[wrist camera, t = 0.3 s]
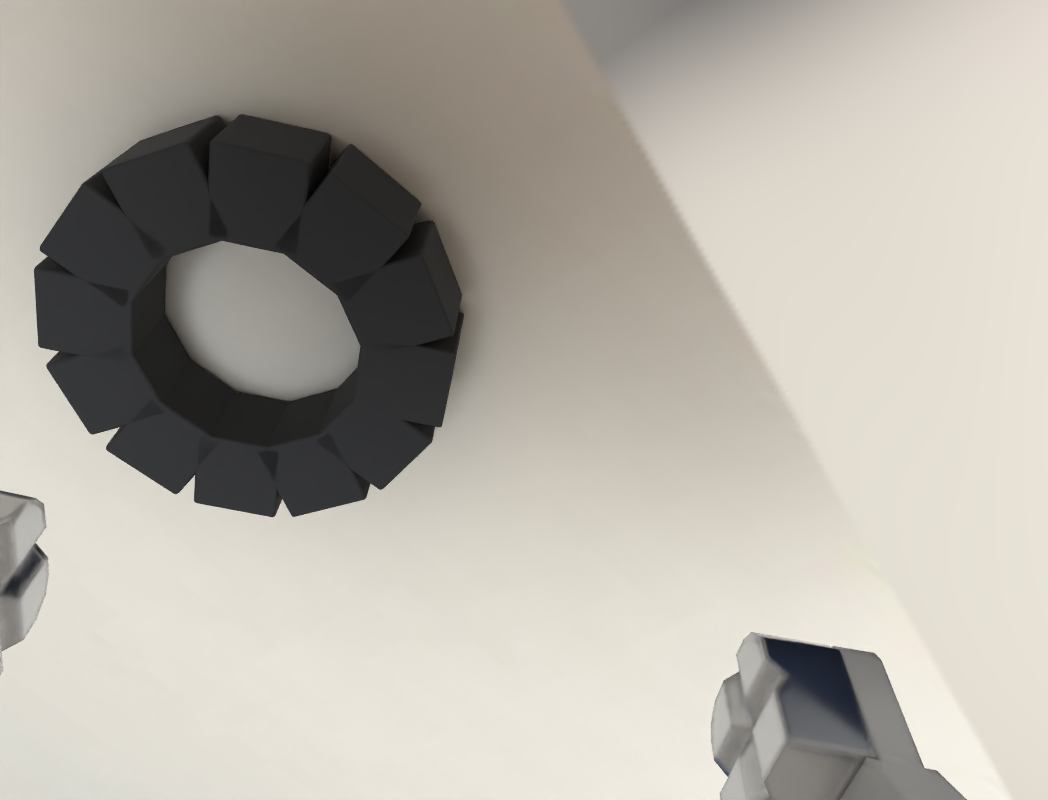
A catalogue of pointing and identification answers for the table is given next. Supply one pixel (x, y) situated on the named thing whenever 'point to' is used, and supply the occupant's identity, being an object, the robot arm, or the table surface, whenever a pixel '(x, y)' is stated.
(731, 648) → the table surface
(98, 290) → the ring
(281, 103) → the table surface
